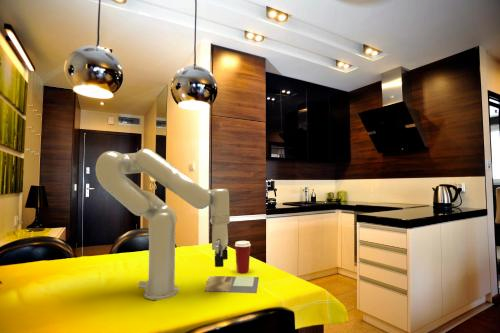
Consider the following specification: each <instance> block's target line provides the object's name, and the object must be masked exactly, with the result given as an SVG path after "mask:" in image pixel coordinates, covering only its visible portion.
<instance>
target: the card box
mask: <svg viewBox="0 0 500 333" xmlns="http://www.w3.org/2000/svg"><path fill="white" fill-rule="evenodd" d="M223 276H224V275H212V276H209V277H208V278H207V279H206V281H205V283H206V284H205V285H206V288H205V290H206V291H230V289H231V286H232V276H230V275H229V276H227V275H226V276H227V277H223Z"/></svg>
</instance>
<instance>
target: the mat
mask: <svg viewBox="0 0 500 333" xmlns="http://www.w3.org/2000/svg"><path fill="white" fill-rule="evenodd" d="M222 276H223V277H227V275H222ZM259 279H260V277H259V276H232V286H231V289H230V291H206V289H205V290H204V293H230V294H231V293H232V294H233V293H234V294H238V293H239V294H257V293H258V286H259V281H260V280H259Z"/></svg>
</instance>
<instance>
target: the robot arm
mask: <svg viewBox="0 0 500 333" xmlns="http://www.w3.org/2000/svg"><path fill="white" fill-rule="evenodd" d="M140 173H145V174H146V175H147V176H149V177H151V178H152V179H153V180H155V181H156V182H158V183H159V184H160V185H161V186H163V187H165V188H166V189H168V190H169V191H170V192H172V193H173V194H174V195H176V196H177V197H179V198H180V199H182V200H183V201H185V202H186V203H188V204H189V205H190V206H192V207H193V208H195V209H197V210H203V209H206V208H207V207H209V206H210V224H211V225H212V228H211V230H212V232H211V250H212V251H214V267H215V268H224V261H226V260H228V257H229V256H228V254H229V253H228V243H229V235H228V233H229V232H228V224H230V222H231V221H230V218H231V217H230V194H229V190H228V189H227V188H213V189H205V188H203V187H202V186H200V185H199V184H197V183H196V182H194V181H193V180H192V179H191V178H189V177H188V176H186V175H185V173H183V172H182V171H181V170H180V169H179V168H177V166H174V164H172V163H170V162H169V161H168V160H166V159H165V158H163V157H162V156H161V155H160V154H158V153H156V152H155V151H154V150H152V149H151V148H141V149H140V150H138V151H137V152H133V153H132V152H131V153H121V152H118V151H115V150H109V151H105V152H102V153H101V154H100V155H99V157H98V158H97V160H96V164H95V177H96V179H97V181H98V183H99V184H100V186H101V187H102V188H103V189H104V190H105V191H106V192H107V193H109V194H110V195H111V196H112V197H114V198H115V199H116V201H118V202H119V203H120V204H121V205H122V206H124V207H125V208H126V209H127V210H128V211H129V212H131V213H132V214H134V216H138V217H141V216H142V217H143V218H145V219H146V220H147V221H148V227H147V228H148V279H147V281H145V280H144V281H142V280H140V281H138V289H145V290H144V292H143V297H144V298H145V299H147V300H150V301H151V300H152V301H158V300H164V299H169V298H173V297H175V296H176V295H178V293H179V291H180V288H179V286H178V285H175V284H176V283H175V280H176V279H175V278H176V276H175V275H176V273H175V272H176V270H175V269H176V223H177V221H178V220H177V219H178V216H177V214H176V212H175V211H174V209H172V207H170V206H169V205H168V204H167V203H165V202H164V201H163V200H162V199H160V198H159V197H158V196H157V195H156V194H155V193H153V192H151V191H150V190H149V191H148V190H144V189H142V188H141V187H140V186H138V184H136V183H135V182H134V181H133V180H131V179H130V178H129V177H127V176H126V175H129V174H130V175H131V174H140Z"/></svg>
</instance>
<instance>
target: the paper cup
mask: <svg viewBox="0 0 500 333" xmlns="http://www.w3.org/2000/svg"><path fill="white" fill-rule="evenodd" d="M251 246H252V245H251V243H250V241H247V240H238V241H235V244H234V248H235V263H236V264H235V266H236V273H237V274H240V275H244V274H248V273H249V271H250V256H251V255H250V254H251Z"/></svg>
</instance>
